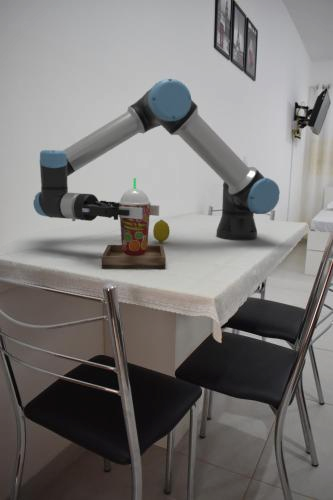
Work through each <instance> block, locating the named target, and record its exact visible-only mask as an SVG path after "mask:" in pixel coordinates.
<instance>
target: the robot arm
mask: <svg viewBox="0 0 333 500" xmlns="http://www.w3.org/2000/svg"><path fill="white" fill-rule="evenodd" d="M198 109H199V106H198V105H197V104H196V103H195V102H194V100H192V95H191V93H190V89H189V88H188V86H186V85H185V83H183V82H181V81H180V80H178V79H174V78H165V79H161V80H159V81H158V82H155V84H154V85H152V87H151V88H150V89H149V90H148V91H146V92H145V93H144V94H143V96H142V97H141V98H139V99H138V100H137V101H135V102H134V103H133V104H131V105H129V106H128V108H127V111H126V112H124V113H123V114H121V115H119V116H118V117H116V118H115V119H113V120H111V121H109V122H107V123H105V125H103V126H101V127H98V128H97V129H96V130H94V131H92V132H91V133H89V134H88V135H87V136H85V137H82V138H81V139H80V140H78V141H75V142H74V143H73V144H72V145H70V146H68V147H67V148H65V149H63V150H57V149H43V150H41V151H40V152H39V167H40V169H39V170H40V185H41V186H40V188H41V189H40V191H38V192H37V193H36V194H35V196H34V199H33V202H32V203H33V209H34V210H35V212H36V213H37V215H40V216H43V217H48V218H50V219H51V218H52V219H53V218H54V219H55V218H56V219H67V220H68V219H70V220H71V221H72V222H75V221H76V220H80V221H89V222H92V221H94V220H95V219H96V218H97V217H103V218H108V219H111V218H112V217H113V221H117V220H119V218H120V217H121V218H133V219H142V208H134V207H119V202H115V201H106V200H98V198H97V196H96V195H94V194H93V193H81V192H69V189H68V188H69V187H68V177H69V176H70V175H72V174H73V173H75V172H77V171H78V170H80V169H81V168H83V167H85V166H87V165H88V164H89V163H91V162H93V161H95V160H96V159H98V158H100V157H101V156H103V155H105V154H106V153H108V152H109V151H112V150H113V149H114V148H117V146H119V145H122V144H123V143H125V142H126V141H128V140H130V139H131V138H133V137H135V136H136V135H138V134H145V133H147V132H148V131H150V130H152V129H155V128H157V127H160V126H161V127H163V128H164V130H165V131H167V133H169V134H170V135H171V136H179V137H180V138H181V139H182V140H183V142H185V144H187V146H188V147H190V148H191V150H192V151H193V152H194V153H195V154H196V155H197V156H199V158H201V160H203V162H205V163H206V164H207V165H208V166H209V167H210V168H211V170H213V171H214V173H215V174H216V175H218V177H219V178H220V179H222V181H223V183H222V210H221V217H220V220H219V223H218V225H217V228H216V235H215V236H216V237H217V238H221V239H227V240H236V241H237V240H238V241H239V240H241V241H243V240H244V241H245V240H246V241H247V240H254V239H257V238H258V229H257V225H256V222H255V217H254V214H255V215H266V214H268V213H271V212H272V211H273V210H274V209H275V208H276V206H277V205H278V203H279V201H280V200H279V199H280V187H279V186H278V185H279V184H277V183H276V181H274V180H273V179H271V178H269V177H265V176H264V175H263V174H262V172H260V171H259V170H258V169H257V167H254V166H248V165H247V164H246V163H245V162H244V161H243V160H242V159H241V158H240V157H239V156H238V155H237V153H235V152H234V151H233V150H232V148H231V147H230V146H229V145H228V144H227V143H226V142H225V141H224V140H223V139H222V138H221V136H219V135H218V133H216V132H215V131H214V130H213V128H212V127H211V126H210V125H209V124H208V123H207V122H206V121H205V120H204V119H203V118H202V116H201V115H200V114H199V110H198ZM150 216H160V205H155V204H150Z"/></svg>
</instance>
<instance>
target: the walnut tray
mask: <svg viewBox="0 0 333 500" xmlns="http://www.w3.org/2000/svg"><path fill="white" fill-rule="evenodd" d="M100 258H101V260H100V261H101V269H103V270H109V269H111V270H117V269H118V270H119V269H120V270H123V269H124V270H166V261H167V260H166V253H165V247H164V244H148V246H147V249H146V251H145V254H143V255H126V254H125V253H124V250H123V249H122V244H107V246H106V247H105V250H104V251H103V253H102V255H101V257H100Z"/></svg>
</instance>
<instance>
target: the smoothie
mask: <svg viewBox="0 0 333 500" xmlns="http://www.w3.org/2000/svg"><path fill="white" fill-rule="evenodd" d="M118 203H119V207H134V208H142V219H133V218H121V217H119V221H120V222H119V223H120V236H121V245H122V249H123V250H124V253H125V254H126V255H143V254H145V251H146V249H147V246H148V245H149V243H148V242H149V229H150V218H151V215H150V205H152V204H151V201H150V200H149V197H148V195H147V194H146V193H145V192H144V191H143V190H142V189H139V188H137V178H136V177H133V188H130V189H127V190H126V191H125V192H124V193H123V194H122V195H121V197H120V200H119V201H118Z"/></svg>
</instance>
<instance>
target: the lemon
mask: <svg viewBox="0 0 333 500" xmlns="http://www.w3.org/2000/svg"><path fill="white" fill-rule="evenodd" d="M152 234H153V237H154V239H155V240H156V241H158V242H159V243H160V244H162V243H164V242H165V241H166V240H168V238H169V236H170V234H171V232H170V226H169V224H168V223H167V222H166V221H164V220H163V219H160V220H158V221H157V222H155V223H154V226H153V230H152Z"/></svg>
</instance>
